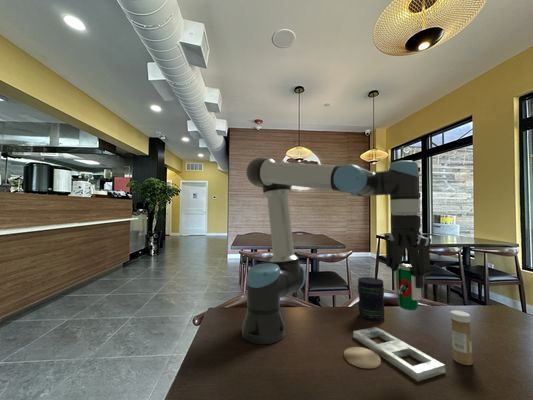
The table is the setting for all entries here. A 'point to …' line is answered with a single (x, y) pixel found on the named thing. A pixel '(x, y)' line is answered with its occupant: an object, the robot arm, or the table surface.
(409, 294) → the soda can
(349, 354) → the coaster
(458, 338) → the sprinkles bottle
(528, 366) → the table surface
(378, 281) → the dark blue canister
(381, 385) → the table surface
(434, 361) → the white flat rectangular frame
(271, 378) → the table surface
